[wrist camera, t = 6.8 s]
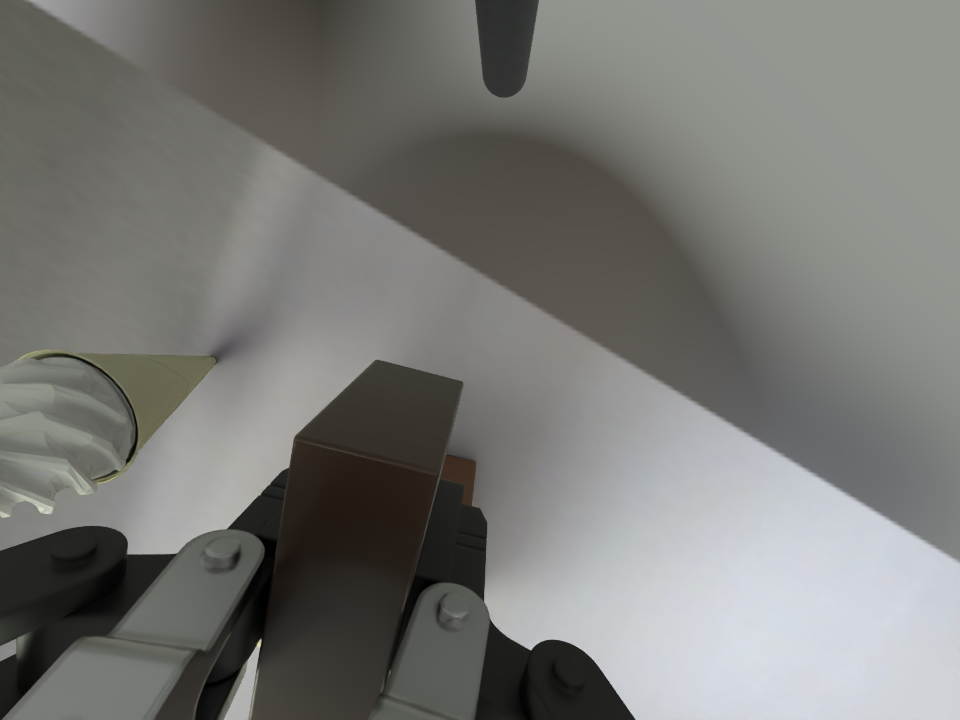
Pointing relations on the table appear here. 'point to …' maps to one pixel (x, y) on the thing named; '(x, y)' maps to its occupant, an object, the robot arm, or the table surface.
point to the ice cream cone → (82, 418)
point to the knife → (351, 543)
